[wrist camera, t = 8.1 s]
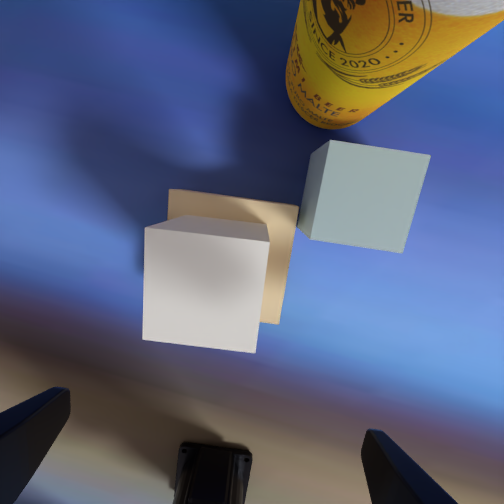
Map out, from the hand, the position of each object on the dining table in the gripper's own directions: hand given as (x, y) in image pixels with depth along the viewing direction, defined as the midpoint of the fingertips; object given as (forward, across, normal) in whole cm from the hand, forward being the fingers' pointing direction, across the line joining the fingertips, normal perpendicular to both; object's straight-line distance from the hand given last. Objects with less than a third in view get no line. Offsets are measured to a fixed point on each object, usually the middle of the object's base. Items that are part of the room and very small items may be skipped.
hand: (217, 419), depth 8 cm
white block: (+10, +1, -2) cm, 10 cm away
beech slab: (+13, +1, -2) cm, 13 cm away
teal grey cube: (+12, -6, -7) cm, 15 cm away
